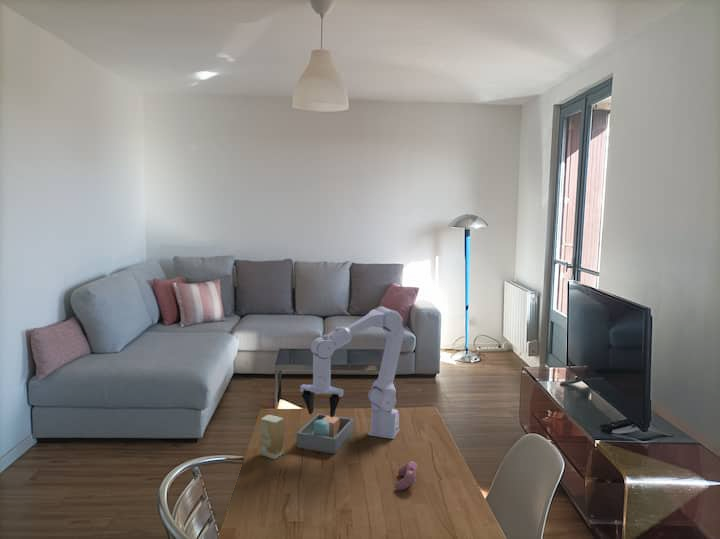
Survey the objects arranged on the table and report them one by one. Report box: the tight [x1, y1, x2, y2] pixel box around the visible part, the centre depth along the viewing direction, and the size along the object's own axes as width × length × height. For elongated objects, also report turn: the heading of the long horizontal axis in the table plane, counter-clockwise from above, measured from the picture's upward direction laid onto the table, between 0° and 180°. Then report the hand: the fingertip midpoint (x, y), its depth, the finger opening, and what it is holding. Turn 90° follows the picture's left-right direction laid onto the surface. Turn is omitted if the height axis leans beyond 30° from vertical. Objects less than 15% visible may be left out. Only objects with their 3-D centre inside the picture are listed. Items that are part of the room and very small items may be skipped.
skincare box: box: [260, 414, 285, 460], centre depth 175 cm, size 6×4×12 cm
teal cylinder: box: [314, 419, 329, 437], centre depth 183 cm, size 5×5×7 cm
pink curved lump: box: [394, 460, 419, 491], centre depth 159 cm, size 10×5×7 cm, turn 170°
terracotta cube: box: [323, 416, 340, 437], centre depth 190 cm, size 5×5×5 cm
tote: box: [296, 413, 355, 455], centre depth 187 cm, size 14×18×5 cm
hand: (321, 414), depth 182 cm, fingers open, 7 cm apart
